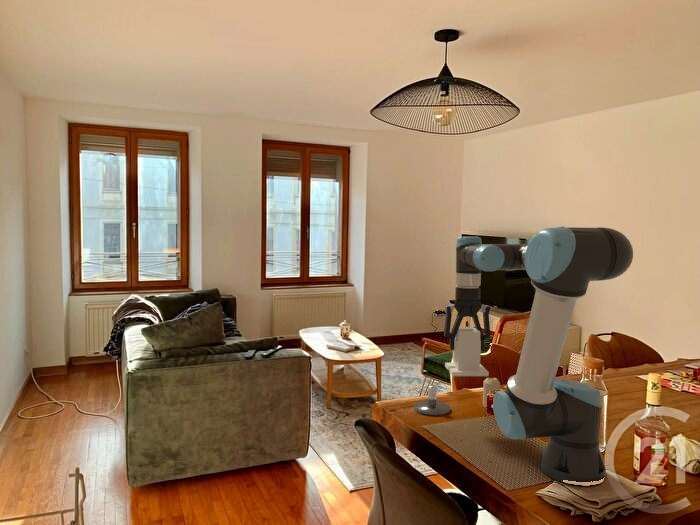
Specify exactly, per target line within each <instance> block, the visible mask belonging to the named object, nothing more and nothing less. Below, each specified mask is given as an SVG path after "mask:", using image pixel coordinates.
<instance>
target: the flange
mask: <svg viewBox="0 0 700 525" xmlns="http://www.w3.org/2000/svg"><path fill="white" fill-rule="evenodd" d="M455 339H456V340H457V361H454V360H453V359H452V360H453V361H452V362H444V367H445V369H446V370H447V371H449V374H450V375H451V377H489V374H490V372H489V371H488V370H487V369H486V368H485V367H484V366H483V365H482V364H481V360H480V331H478V330H477V329H476V327H459V329H458V331H457V334H456V337H455Z"/></svg>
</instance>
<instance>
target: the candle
mask: <svg viewBox="0 0 700 525" xmlns="http://www.w3.org/2000/svg"><path fill="white" fill-rule="evenodd" d="M482 385H483V388H482V389H483V390H482V391H483V392H482V406H483V407H484V408H485V409H487V408H486V405H487V394H488V392H489V391H494V390H501V382H500V381H499V379H498V378H496V377H489V376H486V378H485V379H484V380H483V384H482Z"/></svg>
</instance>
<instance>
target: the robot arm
mask: <svg viewBox="0 0 700 525" xmlns="http://www.w3.org/2000/svg"><path fill="white" fill-rule="evenodd" d="M455 246H456V247H455V250H456V252H455V253H456V254H455V260H456V261H455V285H456V287H455V297H454V298H455V299H454V300H455V301H454V302H453V304H450V305H449V304H448V305H447V304H446V305H444V306H445V307H444V308H445V313H446V314H445V320H444V331H443V336H444V337H445V338H446V339H449V349H450V350H451V351H452V360H454V361H457V340H456V339H455V337H456V334H457V331H458V329H459V328H460V326H461V324H462V321H463V319H464V318H466V317H467V318H468V317H469V318H472V321H473V325H474V328H476V329H477V330H478V331H480V361H481V357H482V356H481V352H482V351H484V349H485V341H486V339H490V338H491V327H490V326H491V325H490V316H489V315H490V310H491V307H490V306H489V305H487V304H482V303H481V288H480V286H481V282H482V281H481V280H482V277H481V276H482V271H483V272H495V271H508V270H509V271H510V270H514V271H516V270H517V271H521V270H523V271H526V273H527V276H529V278H530V283H531V285H532V287H533V288H534V289H535V293H534V297H533V298H534V299H533V300H532V301H533V302H532V306H531V311H530V315H529V319H528V323H527V328H526V331H525V336H524V340H523V343H522V349H521V352H520V357H519V361H518V366H517V368H516V369H517V370H516V374H514V375H511V376H510V377H509V378H508V380H507V384H506V388H505V390H502V389H500V391H498V392H496V393H495V395H494V398H493V409H492V410H493V415H494V418H495V421H496V424H497V426H498V429H499V430H500V431H501V433H502V434H503V435H504V436H505V437H506V438H508V439H510V440H522V441H523V440H527V439H528V440H529V439H537V438H546V437H547V438H548V437H549V438H548V442H547V444H546V446H545V448H544V451H543V454H542V456H541V460H540V468H541V471H542V472H543V473H544V474H545V475H546V476H547V477H549V478H551V479H552V480H554V481H557V482H559V481H563V480H568V481H576V482H591V481H592V482H593V481H599V480H601V479H603V478H604V477H605V478H606V476H605V475H607V474H606V473H607V471H606V466H605V462H604V458H603V456H602V453H601V449H600V431H601V415H602V414H601V412H602V408H603V406H602V396H601V392H600V391H599V390H598V388H596V387H595V386H593V385H590V384H588V383H585V382H582V381H577V380H573V379H568V378H556V376H557V372H558V368H559V364H560V360H561V357H562V353H563V350H564V346H565V342H566V339H567V335H568V332H569V328H570V323H571V321H572V316H573V313H574V309H575V306H576V303H577V300H578V299H581V298H582V297H584V296H586V294H587V291H588V288H589V284H590V282H593V281H594V282H596V281H597V282H599V281H608V280H612V279H613V280H614V279H616V278H618V277H620V276H622V275H623V274H624V273H626V272H627V270H628V269H629V268H630V267H631V265H632V263H633V259H634V249H633V245H632V244H631V241H630V240H629V238H628V237H627V236H626V235H625V234H623V232H621V231H619V230H617V229H614V228H610V227H603V226H602V227H601V226H600V227H576V226H575V227H570V226H569V227H567V226H566V227H565V226H556V227H547V228H546V227H545V228H543V229H541V230H539V231H538V232H536V233H534V235H533V236H532V237H531V239H530V241H528V243H516V244H515V243H513V244H510V243H504V244H503V243H502V244H501V243H494V244H493V243H489V244H488V243H485V244H484V243H483V242H482V237H479V236H458V237H457V239H456V245H455ZM454 309H455V310H456V312H457V314H456V318H455V320H454V323H453V326H452V329H451V325H452V324H451V323H452V315H453V314H452V313H453V312H454ZM480 311H481V312H482V319H483V329H482V325H481V323H480V319H479V316H478V312H480Z"/></svg>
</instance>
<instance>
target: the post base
mask: <svg viewBox="0 0 700 525" xmlns="http://www.w3.org/2000/svg"><path fill="white" fill-rule="evenodd" d="M427 388H428V389H427V390H428V391H427V400H420V401H417V402H416V403H415V404H414V405H413V408H414V409H413V410H414V411H415V412H416V413H417V414H421V415H423V416H430V417H439V416H445V415H448V414H449V413H450V412H451V406H450V404H447V403H445V402H442V401H438V400H437V393H438V392H437V385H435V384H429V385H428V387H427Z"/></svg>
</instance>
